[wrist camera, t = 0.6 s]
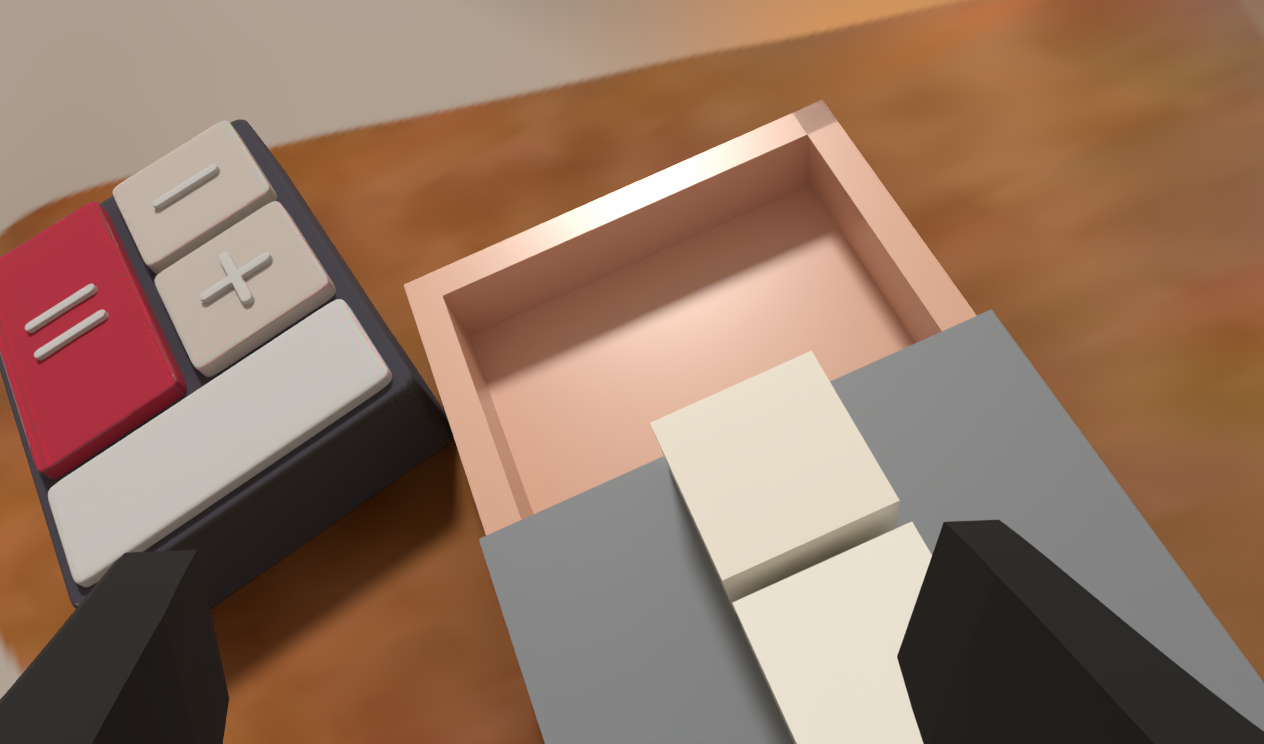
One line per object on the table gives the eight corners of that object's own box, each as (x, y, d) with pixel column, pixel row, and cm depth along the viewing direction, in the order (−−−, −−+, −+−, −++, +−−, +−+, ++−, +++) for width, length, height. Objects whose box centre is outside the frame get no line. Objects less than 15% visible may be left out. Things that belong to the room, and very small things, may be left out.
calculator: (230, 97, 35) (405, 367, 27) (291, 178, 39) (462, 438, 31) (-48, 268, 34) (51, 607, 26) (43, 336, 37) (154, 652, 29)
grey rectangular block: (1242, 775, 22) (1312, 749, 19) (678, 1036, 22) (646, 1057, 19) (974, 383, 28) (991, 309, 25) (524, 585, 28) (478, 538, 24)
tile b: (895, 540, 22) (899, 500, 20) (734, 612, 22) (722, 580, 20) (814, 400, 24) (811, 350, 22) (667, 466, 24) (649, 422, 22)
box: (972, 380, 28) (984, 326, 26) (523, 582, 28) (490, 548, 25) (824, 163, 33) (822, 100, 30) (439, 334, 33) (403, 284, 30)
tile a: (1005, 732, 20) (1023, 710, 18) (826, 814, 20) (823, 801, 18) (906, 559, 22) (911, 521, 20) (744, 633, 22) (732, 602, 20)
